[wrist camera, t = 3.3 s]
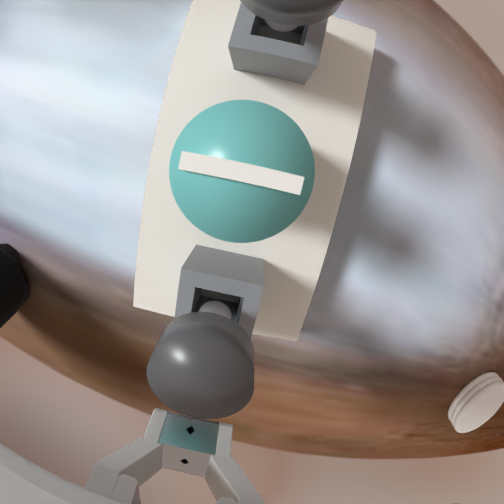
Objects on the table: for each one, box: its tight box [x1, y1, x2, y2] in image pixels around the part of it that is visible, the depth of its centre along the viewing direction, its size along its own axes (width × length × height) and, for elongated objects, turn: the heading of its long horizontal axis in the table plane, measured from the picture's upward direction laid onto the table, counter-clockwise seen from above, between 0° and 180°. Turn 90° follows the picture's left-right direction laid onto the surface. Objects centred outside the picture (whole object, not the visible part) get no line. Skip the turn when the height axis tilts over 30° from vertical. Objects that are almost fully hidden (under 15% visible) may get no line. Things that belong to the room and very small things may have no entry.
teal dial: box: [169, 100, 315, 243], centre depth 13 cm, size 5×5×6 cm
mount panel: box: [133, 0, 377, 341], centre depth 20 cm, size 26×14×8 cm, turn 167°
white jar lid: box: [448, 372, 504, 433], centre depth 31 cm, size 10×10×4 cm
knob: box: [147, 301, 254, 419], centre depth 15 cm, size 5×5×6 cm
